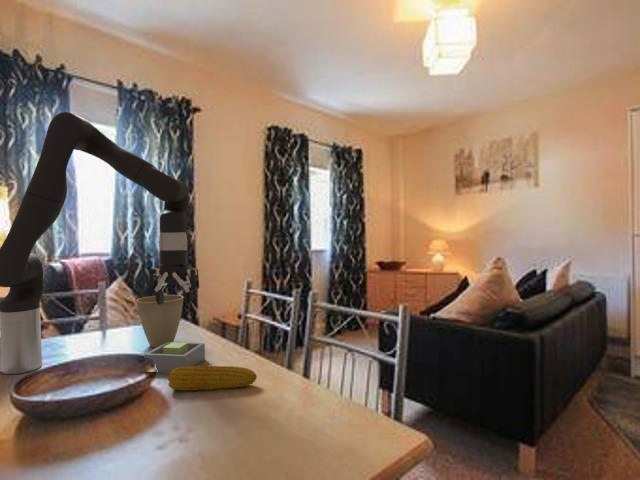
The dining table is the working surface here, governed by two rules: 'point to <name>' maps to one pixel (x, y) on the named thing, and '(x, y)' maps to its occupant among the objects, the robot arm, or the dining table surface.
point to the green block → (176, 348)
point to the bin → (177, 357)
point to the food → (210, 377)
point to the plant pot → (160, 318)
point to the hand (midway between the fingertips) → (174, 304)
